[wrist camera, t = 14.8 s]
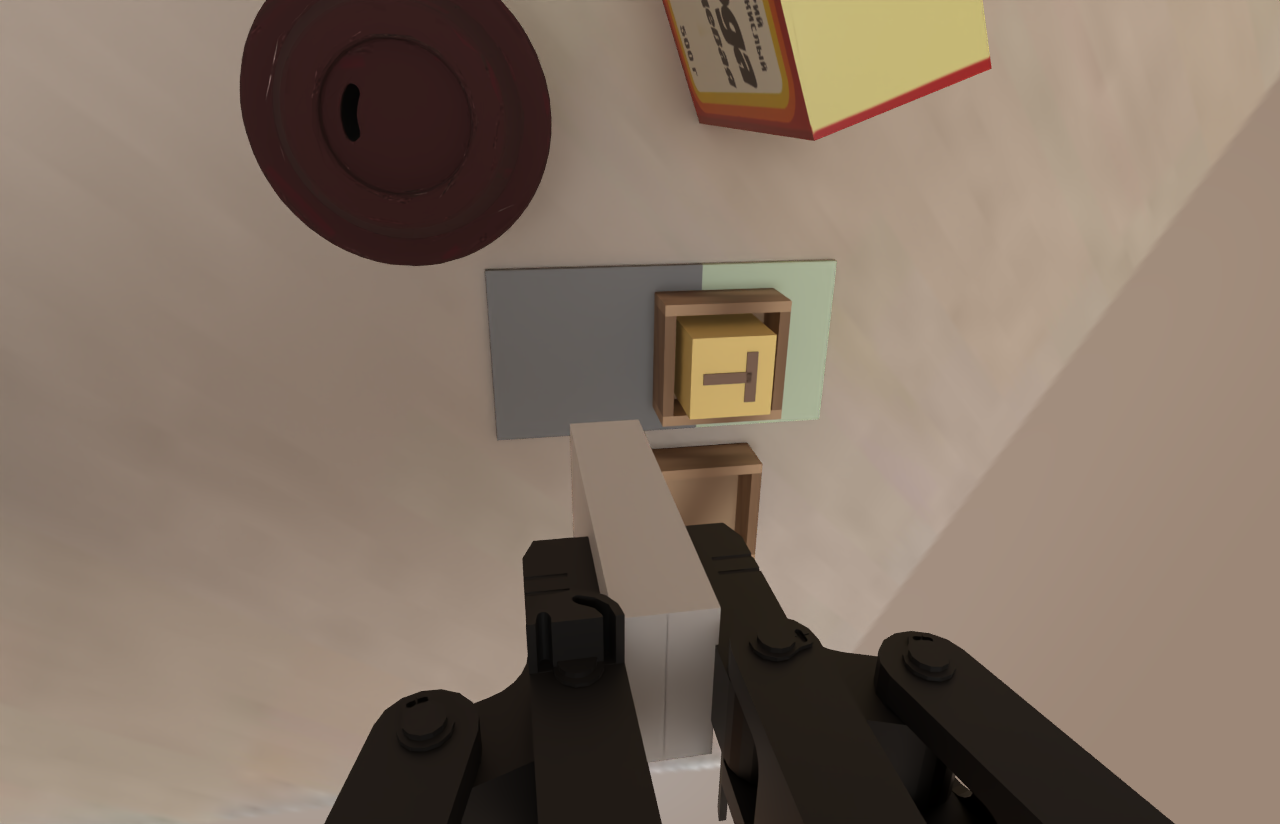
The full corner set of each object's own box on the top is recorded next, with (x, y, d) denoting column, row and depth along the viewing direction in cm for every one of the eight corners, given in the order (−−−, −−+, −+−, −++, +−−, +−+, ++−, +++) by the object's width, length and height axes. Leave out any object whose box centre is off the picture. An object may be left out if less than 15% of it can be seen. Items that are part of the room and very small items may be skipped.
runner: (497, 437, 44) (497, 440, 44) (485, 269, 40) (485, 271, 40) (816, 416, 48) (818, 419, 47) (833, 259, 44) (836, 261, 43)
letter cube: (671, 389, 44) (690, 420, 40) (673, 315, 42) (693, 339, 38) (745, 385, 45) (770, 415, 41) (750, 311, 43) (777, 335, 39)
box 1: (652, 406, 45) (662, 426, 42) (654, 291, 42) (665, 305, 39) (764, 399, 46) (781, 419, 43) (773, 287, 43) (791, 300, 40)
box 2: (637, 546, 49) (645, 573, 46) (638, 450, 46) (647, 472, 43) (740, 536, 50) (754, 562, 47) (746, 442, 47) (762, 464, 45)
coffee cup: (573, 99, 38) (617, 102, 24) (455, 251, 40) (435, 334, 26) (405, -56, 34) (344, -155, 20) (283, 120, 36) (155, 137, 22)
